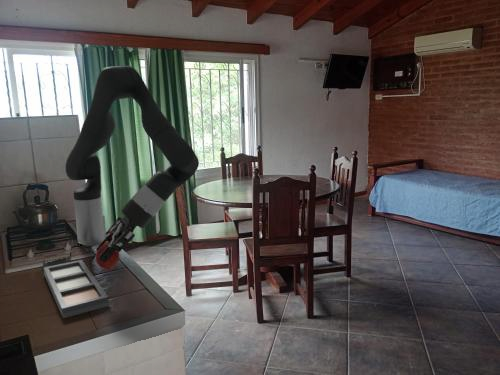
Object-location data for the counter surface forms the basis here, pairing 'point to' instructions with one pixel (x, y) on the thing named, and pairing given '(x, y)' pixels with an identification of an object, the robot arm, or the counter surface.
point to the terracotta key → (80, 296)
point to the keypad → (74, 287)
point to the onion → (111, 261)
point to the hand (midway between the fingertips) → (100, 256)
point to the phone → (56, 262)
